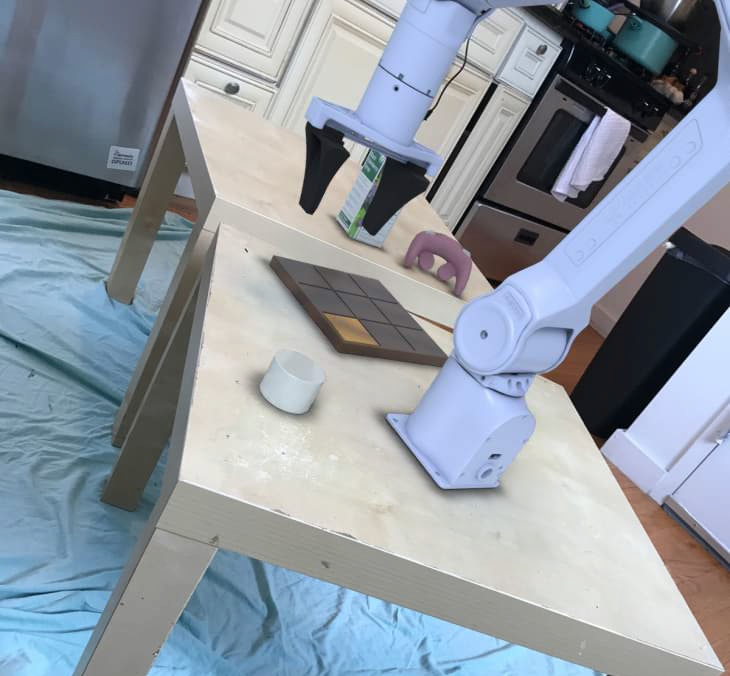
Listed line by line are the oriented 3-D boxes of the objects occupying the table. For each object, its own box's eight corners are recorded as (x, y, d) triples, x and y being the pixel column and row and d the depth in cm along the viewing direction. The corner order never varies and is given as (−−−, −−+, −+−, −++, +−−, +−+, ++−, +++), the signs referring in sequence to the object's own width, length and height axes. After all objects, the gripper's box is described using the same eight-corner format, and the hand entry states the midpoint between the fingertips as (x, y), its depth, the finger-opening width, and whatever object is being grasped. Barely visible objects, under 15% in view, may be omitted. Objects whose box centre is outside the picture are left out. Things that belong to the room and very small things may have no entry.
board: (445, 367, 85) (450, 358, 84) (338, 352, 74) (344, 341, 73) (374, 288, 93) (379, 279, 92) (268, 264, 82) (273, 254, 81)
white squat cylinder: (318, 415, 62) (335, 385, 61) (274, 412, 59) (290, 381, 58) (293, 381, 65) (309, 352, 63) (250, 377, 62) (265, 346, 60)
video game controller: (454, 299, 111) (476, 256, 110) (462, 297, 106) (485, 252, 106) (396, 267, 109) (418, 223, 108) (402, 263, 104) (425, 217, 104)
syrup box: (334, 218, 106) (383, 120, 99) (366, 230, 110) (416, 136, 102) (349, 238, 103) (400, 137, 95) (382, 250, 106) (434, 153, 99)
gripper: (442, 94, 72) (376, 220, 80) (321, 29, 63) (259, 178, 70) (480, 124, 68) (407, 254, 75) (356, 59, 59) (286, 214, 66)
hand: (337, 220), depth 73 cm, fingers open, 7 cm apart
